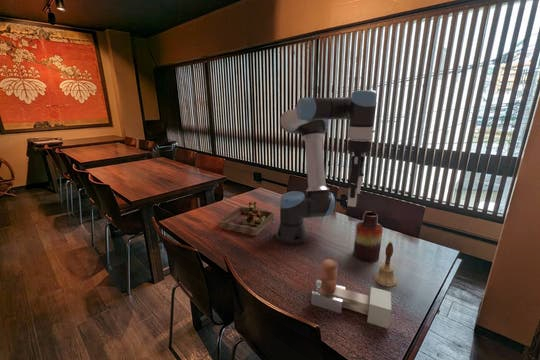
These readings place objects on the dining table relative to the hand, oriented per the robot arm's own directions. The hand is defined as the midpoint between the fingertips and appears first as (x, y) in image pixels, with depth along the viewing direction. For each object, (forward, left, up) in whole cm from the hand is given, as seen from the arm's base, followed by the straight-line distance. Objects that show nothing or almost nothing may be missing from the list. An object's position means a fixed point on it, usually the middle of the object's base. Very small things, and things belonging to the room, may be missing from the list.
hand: (353, 199), depth 90 cm
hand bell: (+14, +4, -33) cm, 36 cm away
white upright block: (+12, -16, -33) cm, 38 cm away
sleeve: (-4, -16, -33) cm, 37 cm away
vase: (+6, +18, -33) cm, 38 cm away
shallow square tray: (-58, +25, -33) cm, 71 cm away
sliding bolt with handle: (+3, -16, -32) cm, 36 cm away
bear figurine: (-54, +26, -33) cm, 69 cm away
